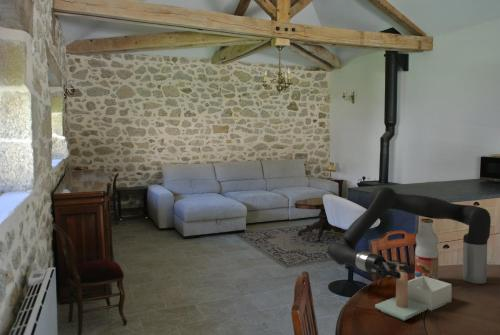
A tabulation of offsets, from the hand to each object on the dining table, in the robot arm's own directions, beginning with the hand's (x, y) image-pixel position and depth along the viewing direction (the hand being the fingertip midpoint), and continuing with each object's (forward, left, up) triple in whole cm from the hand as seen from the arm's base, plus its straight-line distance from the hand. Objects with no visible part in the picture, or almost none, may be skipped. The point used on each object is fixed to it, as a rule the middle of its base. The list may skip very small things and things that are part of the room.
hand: (407, 273), depth 139 cm
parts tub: (-16, -2, -15) cm, 22 cm away
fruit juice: (-36, -14, -15) cm, 41 cm away
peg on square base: (0, -2, -15) cm, 15 cm away
